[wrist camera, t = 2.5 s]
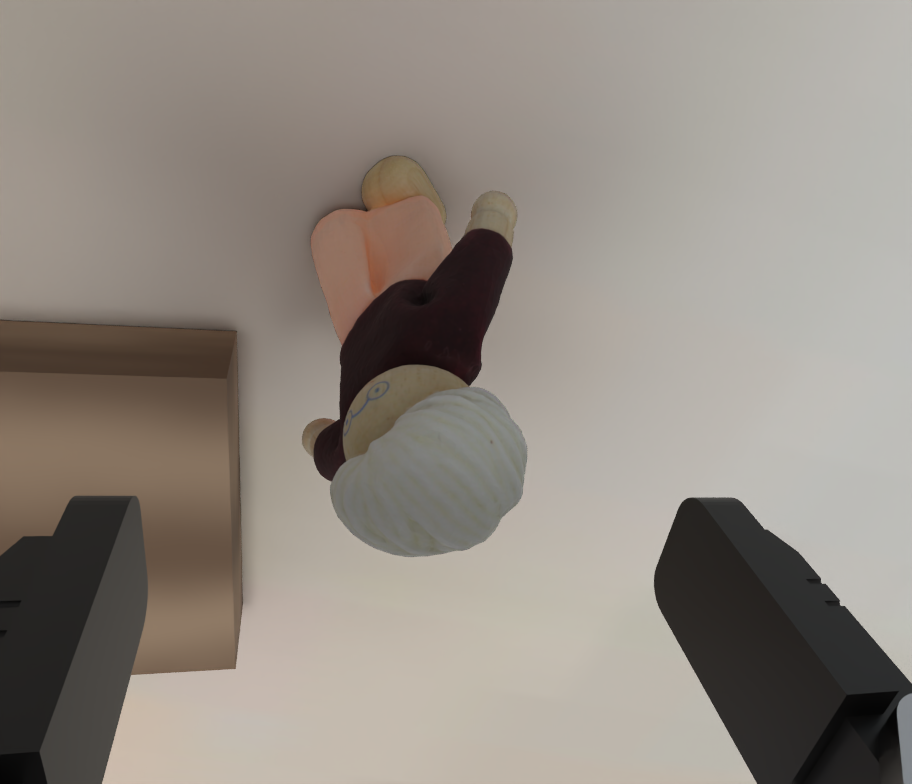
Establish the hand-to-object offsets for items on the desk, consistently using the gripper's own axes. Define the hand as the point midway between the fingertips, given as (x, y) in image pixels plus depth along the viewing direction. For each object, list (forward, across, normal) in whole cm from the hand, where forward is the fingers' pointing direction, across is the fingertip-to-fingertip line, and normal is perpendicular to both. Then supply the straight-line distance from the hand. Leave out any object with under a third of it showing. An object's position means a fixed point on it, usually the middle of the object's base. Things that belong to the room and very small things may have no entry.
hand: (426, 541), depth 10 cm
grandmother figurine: (+13, 0, 0) cm, 13 cm away
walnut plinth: (+13, +10, +9) cm, 18 cm away
